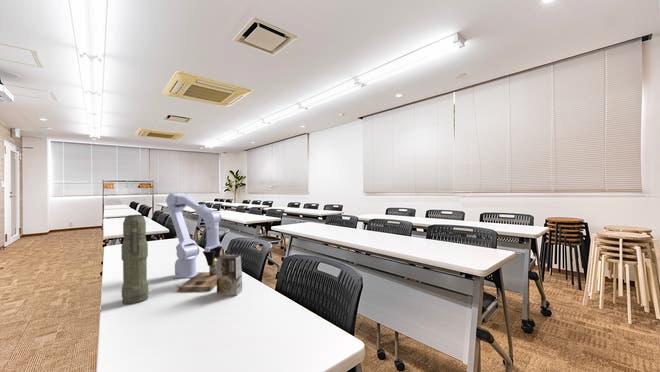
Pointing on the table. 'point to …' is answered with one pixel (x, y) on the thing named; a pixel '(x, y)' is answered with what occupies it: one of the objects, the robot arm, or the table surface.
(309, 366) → the table surface
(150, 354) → the table surface
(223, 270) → the coffee box
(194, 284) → the board
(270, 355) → the table surface
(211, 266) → the gold rounded piece
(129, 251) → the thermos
